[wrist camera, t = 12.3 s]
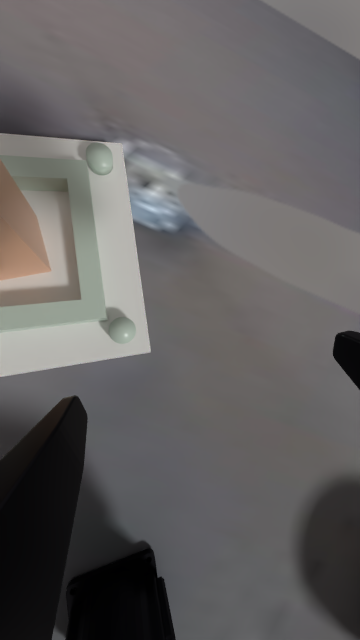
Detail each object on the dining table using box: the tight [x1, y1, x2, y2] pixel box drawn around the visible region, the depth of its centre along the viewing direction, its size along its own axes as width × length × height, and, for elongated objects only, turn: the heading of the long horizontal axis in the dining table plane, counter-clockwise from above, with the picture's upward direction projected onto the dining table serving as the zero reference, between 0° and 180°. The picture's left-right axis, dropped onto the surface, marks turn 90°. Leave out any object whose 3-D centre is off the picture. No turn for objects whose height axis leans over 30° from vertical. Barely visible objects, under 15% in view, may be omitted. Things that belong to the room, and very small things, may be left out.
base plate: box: [0, 133, 151, 377], centre depth 17 cm, size 18×18×4 cm
